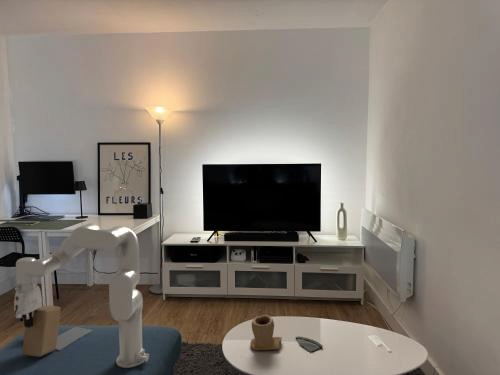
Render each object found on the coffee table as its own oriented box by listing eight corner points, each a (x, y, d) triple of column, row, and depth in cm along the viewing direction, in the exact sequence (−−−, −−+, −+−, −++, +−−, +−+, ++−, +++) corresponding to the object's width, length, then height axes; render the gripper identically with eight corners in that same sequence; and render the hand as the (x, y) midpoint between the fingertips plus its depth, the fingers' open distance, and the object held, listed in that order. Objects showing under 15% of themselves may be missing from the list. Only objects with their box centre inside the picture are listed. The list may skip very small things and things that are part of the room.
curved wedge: (305, 336, 171) (305, 333, 171) (323, 349, 160) (323, 345, 159) (291, 341, 167) (291, 337, 167) (310, 354, 155) (310, 350, 155)
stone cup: (250, 354, 154) (249, 322, 154) (250, 341, 166) (250, 311, 165) (283, 354, 154) (283, 322, 153) (281, 341, 166) (281, 311, 165)
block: (39, 357, 149) (45, 310, 152) (20, 355, 151) (26, 308, 154) (56, 350, 159) (61, 306, 162) (38, 348, 161) (43, 304, 164)
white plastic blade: (381, 353, 155) (381, 351, 155) (366, 337, 170) (366, 335, 170) (391, 352, 156) (391, 350, 156) (376, 336, 171) (376, 334, 171)
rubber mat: (93, 330, 178) (93, 330, 178) (59, 351, 158) (59, 349, 158) (75, 327, 182) (75, 326, 182) (40, 346, 162) (40, 345, 162)
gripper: (17, 293, 141) (18, 335, 142) (48, 281, 155) (49, 320, 156) (4, 290, 143) (5, 333, 144) (36, 279, 157) (37, 318, 159)
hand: (28, 326), depth 150 cm, fingers closed
